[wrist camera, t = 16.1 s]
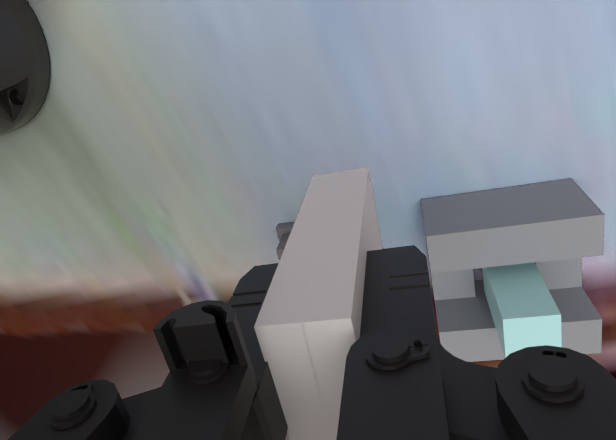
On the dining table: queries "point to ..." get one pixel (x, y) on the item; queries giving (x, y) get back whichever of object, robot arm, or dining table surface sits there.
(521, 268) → the plug
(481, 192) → the port
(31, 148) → the dining table surface
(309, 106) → the dining table surface
